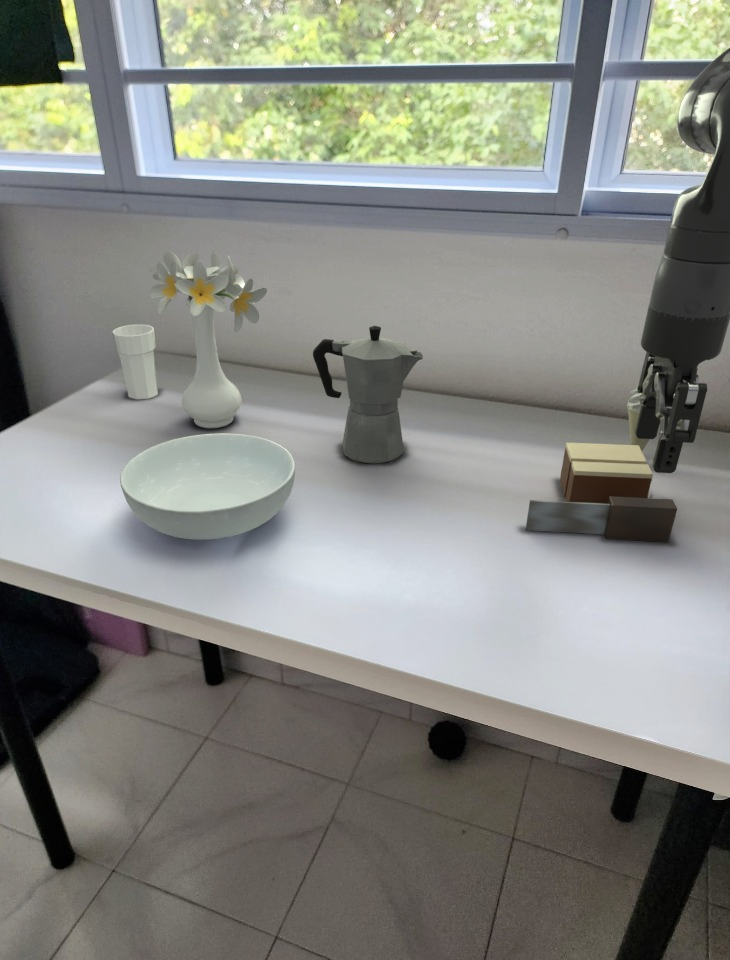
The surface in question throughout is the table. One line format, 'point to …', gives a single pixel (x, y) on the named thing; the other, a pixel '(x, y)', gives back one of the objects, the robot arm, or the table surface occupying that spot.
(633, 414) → the ice cream cone
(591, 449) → the cake
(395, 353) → the coffeepot
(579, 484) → the cake slice
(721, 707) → the table surface
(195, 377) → the flower vase
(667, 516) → the knife
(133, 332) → the cup
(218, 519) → the serving bowl
